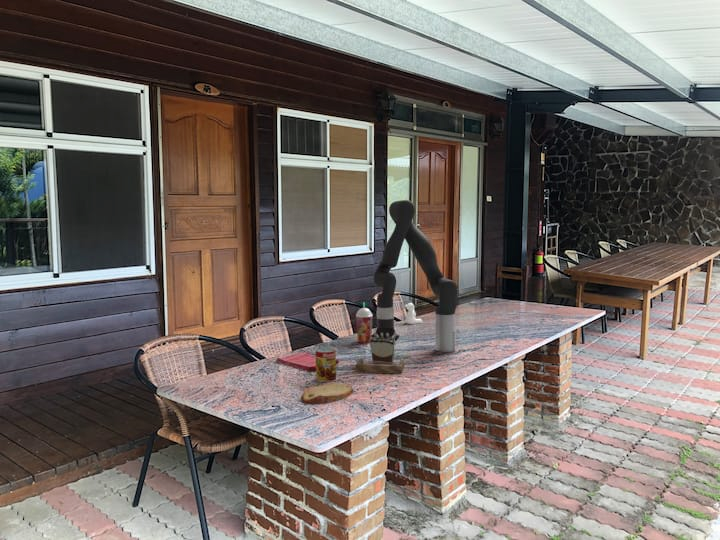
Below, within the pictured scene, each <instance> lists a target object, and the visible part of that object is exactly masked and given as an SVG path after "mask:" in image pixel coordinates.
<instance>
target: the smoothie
mask: <svg viewBox="0 0 720 540" xmlns="http://www.w3.org/2000/svg"><path fill="white" fill-rule="evenodd" d="M362 306H363V307H362V308H359V309H358V310H357V312H356V314H355V323H356V324H355V325H356V333H357V334H356V335H357V336H356V337H357V341H358V343H359V342H360V343H359V344H363V343H366V344H370V343H369V340H370V338H372V337H371V336H372V334H373V331H372V330H373V317H374V315H373V312H371V310H370V309H369V308H367V307H365V306H366V303H365V302H363V305H362Z"/></svg>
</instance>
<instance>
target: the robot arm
mask: <svg viewBox="0 0 720 540" xmlns="http://www.w3.org/2000/svg"><path fill="white" fill-rule="evenodd" d="M388 213H389V216H390V218H391V219H392V221H393V222H394V224H395V226H394V229H393V231H392V233H391V235H390V236H389V238H388V240H387V242H386V244H385V245H384V249H383V252H382V257H381V261H380V262H379V264H378V266H377V268H376V270H375V272H374V274H373V283H374V285H375V286H376V287H378V288H382V292H380V293H377V297H376V329H375V332H374V333H372V336H371V337H372V338H373V337H380V338H381V339H389V337H392V338H394V339H395V341H396V342H397V340H399V339H400V337H401V335H400V334H398V333H397V332H396V330H395V315H394V314H395V312H394V310H395V309H394V295H395V291H396V285H397V278H396V275H395V274H394V273H392V272H390V271H391V270H392V269H394V268H396V267H397V266H398V262H399V258H400V254H401V251H402V247H403V244H404V241H406V243H407V245H408V247H409V249H410V251H411V252H412V255H413V256H414V258H415V259H416V262H417V263H418V265H419V266H420V268H421V270H422V271H423V273H424V275H425V276H426V279H427V281H428V283H429V286H430V288H431V291H432V293H433V294H434V295H435V296H436V297H437V298H438V299H439V301H438V303H439V304H438V306H435V309H434V320H435V322H434V338H435V339H434V341H435V343H434V348H435V349H434V350H435V351H437V352H441V353H451V352H456V310H457V308H458V297H459V295H458V294H459V291H458V289H459V288H458V285H457V283H456V282H455V281H454V280H451V279H447V278H446V277H445V275H443V273H442V272H441V271H442V270H440V268H439V264H438V258H437V253H436V251H435V249H434V247H433V245H432V243H431V241H430V239H428V237H427V236H426V235H425V234H424V233H423V232H422V231H421V229H419V228H418V227H417V226H416V225H415V224H414V222H413V219H414V217H415V215H416V207H415V204H414V203H413V202H412V201H411V200H409V199H402V200H396V201H393V202H391V204H390V205H389V208H388Z"/></svg>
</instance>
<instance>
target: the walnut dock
mask: <svg viewBox="0 0 720 540" xmlns="http://www.w3.org/2000/svg"><path fill="white" fill-rule="evenodd" d="M354 366H355V372H356V373H378V374H381V373H382V374H383V373H384V374H402V373H403V371H404V368H405V359H400V361H399V362H398V364H380V363H379V364H378V363H376V364H375V363H364V358H359V359H358V360H357V362H356V363H355V365H354Z"/></svg>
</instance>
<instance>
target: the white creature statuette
mask: <svg viewBox="0 0 720 540" xmlns="http://www.w3.org/2000/svg"><path fill="white" fill-rule="evenodd" d="M415 307H416V306H415V305H414V303H413V302H408V303H407V304H404V308H406V309H407V312H406V317H405V323H406V324H407V325H417V324H423V320H422V319H421V318H416V315H417V313H416V311H415Z"/></svg>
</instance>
